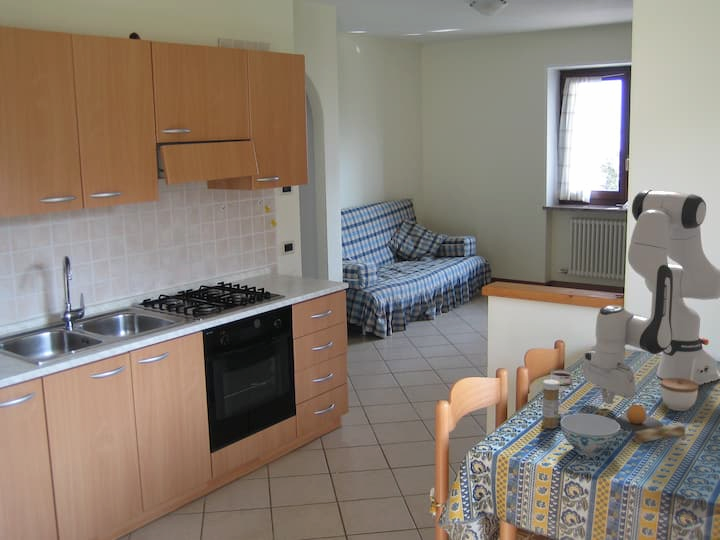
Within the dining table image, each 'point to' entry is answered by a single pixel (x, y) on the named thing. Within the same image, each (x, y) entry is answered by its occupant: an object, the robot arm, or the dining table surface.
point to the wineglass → (562, 384)
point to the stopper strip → (659, 433)
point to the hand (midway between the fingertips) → (607, 402)
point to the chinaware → (589, 432)
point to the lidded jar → (679, 393)
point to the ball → (636, 414)
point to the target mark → (645, 425)
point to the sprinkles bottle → (550, 403)
